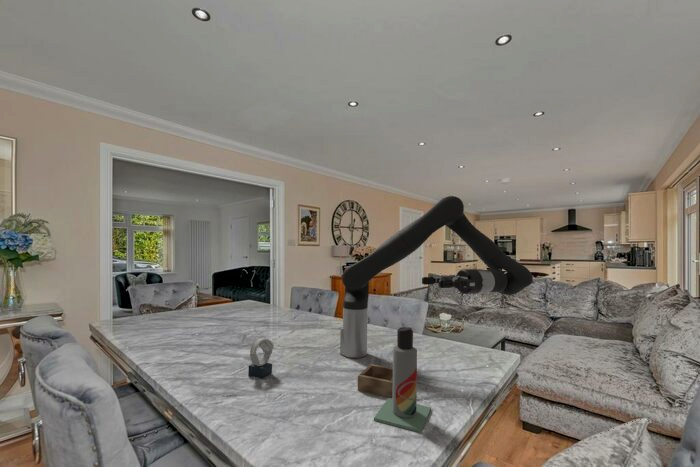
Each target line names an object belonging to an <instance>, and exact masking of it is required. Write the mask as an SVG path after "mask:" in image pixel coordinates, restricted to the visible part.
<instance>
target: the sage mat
mask: <svg viewBox="0 0 700 467" xmlns="http://www.w3.org/2000/svg"><path fill="white" fill-rule="evenodd" d="M431 411H432V407H431V406H427V405H423V404H418V403H417V404H416V415H415V416H414V417H411V418H402V417H398V416H396V415H395V414H394V413H393V409H392V398H390V397H387V399H386V400H385V402H384V403H383V404H382V406H381V407H380V409H379V410H378V411H377V413H376V414H375V416H374V417H373V422H374V421H375V422H379V423H382V422H383V423H382V424H387V425H389V424H390V426H393V425H394V426H393V427H398V428H401V429H404V430H405V429H406V430H408V431H412V432H416V433H420V434H422V433H423V430H424V428H425V425H426V423H427V420H428V418H429V416H430V413H431Z"/></svg>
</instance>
